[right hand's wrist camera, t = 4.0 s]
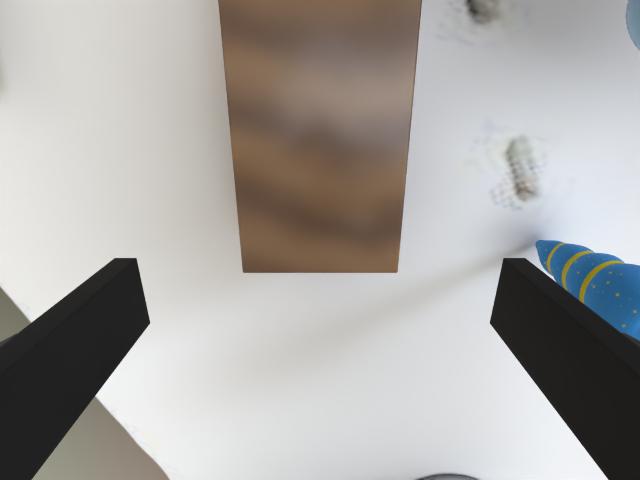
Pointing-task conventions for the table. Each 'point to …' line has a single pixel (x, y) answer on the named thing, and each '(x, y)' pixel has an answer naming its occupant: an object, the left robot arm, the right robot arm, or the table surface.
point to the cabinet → (320, 130)
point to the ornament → (596, 282)
